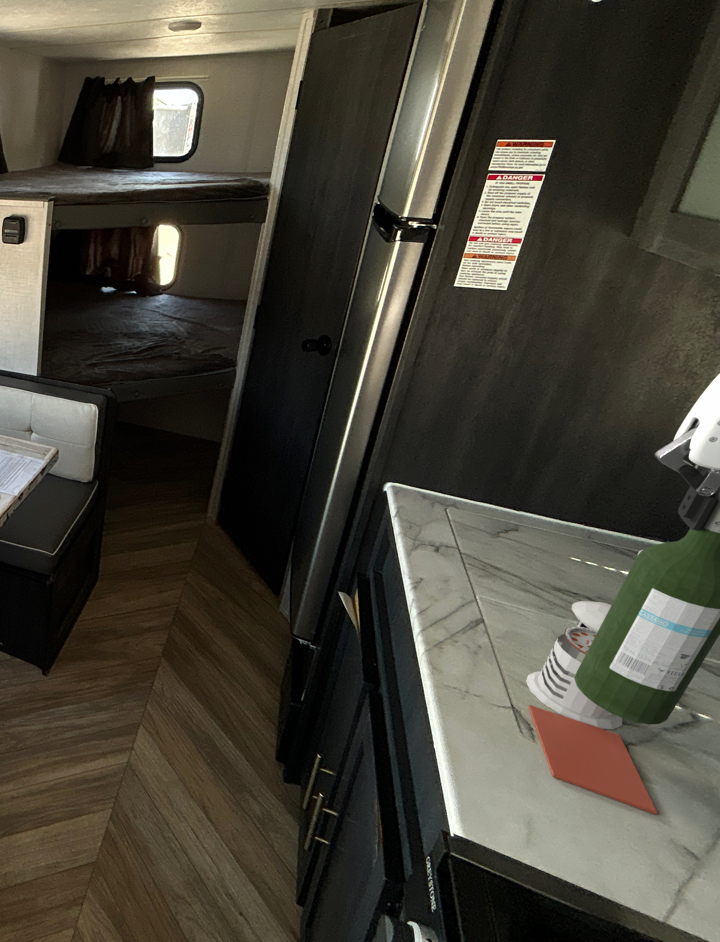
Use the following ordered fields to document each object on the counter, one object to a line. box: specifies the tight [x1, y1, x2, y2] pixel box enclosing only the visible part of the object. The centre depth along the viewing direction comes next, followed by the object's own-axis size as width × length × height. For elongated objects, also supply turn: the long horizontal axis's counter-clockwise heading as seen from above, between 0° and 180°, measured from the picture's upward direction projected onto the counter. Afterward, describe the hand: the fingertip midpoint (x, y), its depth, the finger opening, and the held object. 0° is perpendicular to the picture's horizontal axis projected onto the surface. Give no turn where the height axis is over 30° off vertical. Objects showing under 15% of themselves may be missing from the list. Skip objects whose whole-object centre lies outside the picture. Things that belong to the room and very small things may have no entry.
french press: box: [525, 549, 643, 730], centre depth 84 cm, size 10×12×25 cm
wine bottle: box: [573, 486, 720, 725], centre depth 70 cm, size 8×8×30 cm
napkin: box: [528, 704, 658, 815], centre depth 80 cm, size 9×12×1 cm
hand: (714, 527), depth 67 cm, fingers closed on wine bottle, 2 cm apart
